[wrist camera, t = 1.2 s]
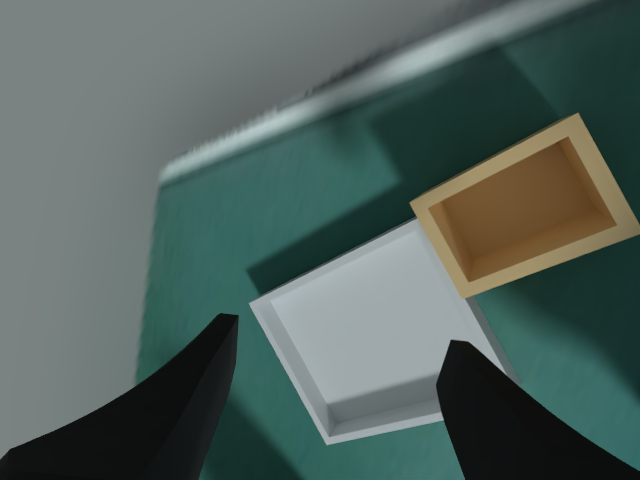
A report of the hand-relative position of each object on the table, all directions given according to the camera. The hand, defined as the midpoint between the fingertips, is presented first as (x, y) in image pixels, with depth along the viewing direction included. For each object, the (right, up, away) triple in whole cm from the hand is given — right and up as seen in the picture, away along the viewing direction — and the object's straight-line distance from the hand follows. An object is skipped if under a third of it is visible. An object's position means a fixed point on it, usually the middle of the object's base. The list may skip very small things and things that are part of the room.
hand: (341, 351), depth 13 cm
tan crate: (+9, +6, +7) cm, 13 cm away
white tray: (+3, -2, +12) cm, 12 cm away
